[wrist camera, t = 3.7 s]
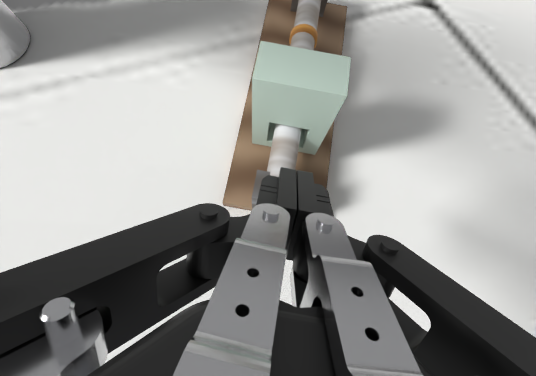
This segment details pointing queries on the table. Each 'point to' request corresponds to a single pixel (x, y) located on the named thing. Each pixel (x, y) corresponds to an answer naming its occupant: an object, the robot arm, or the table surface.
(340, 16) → the pipe stand
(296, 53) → the pale green rectangular block
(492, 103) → the table surface
